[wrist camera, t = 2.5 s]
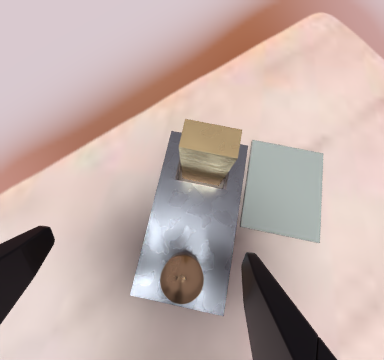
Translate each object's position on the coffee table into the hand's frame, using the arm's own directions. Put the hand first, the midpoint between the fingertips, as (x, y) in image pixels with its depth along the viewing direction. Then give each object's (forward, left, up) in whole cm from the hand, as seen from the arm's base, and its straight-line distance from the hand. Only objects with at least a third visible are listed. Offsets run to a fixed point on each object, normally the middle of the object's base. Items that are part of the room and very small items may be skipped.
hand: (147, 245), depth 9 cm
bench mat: (-9, -11, -14) cm, 20 cm away
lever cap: (0, -8, -14) cm, 16 cm away
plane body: (-1, -3, -14) cm, 14 cm away
